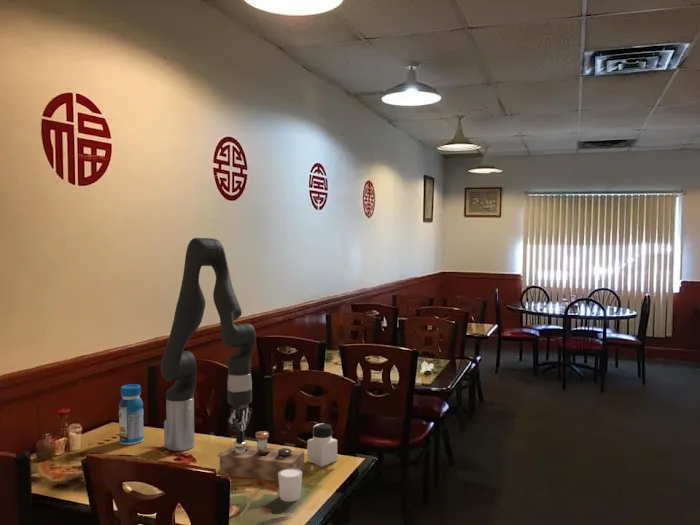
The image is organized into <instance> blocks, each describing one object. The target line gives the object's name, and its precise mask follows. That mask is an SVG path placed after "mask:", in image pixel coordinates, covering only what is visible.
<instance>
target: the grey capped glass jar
mask: <svg viewBox="0 0 700 525" xmlns="http://www.w3.org/2000/svg"><path fill="white" fill-rule="evenodd" d="M278 449H279V450H278V456H280V458H284V459H289V458H290V455H291V450H292V449H291V448H288V447H287V448H286V447H284V448H278Z"/></svg>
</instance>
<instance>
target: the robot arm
mask: <svg viewBox="0 0 700 525" xmlns="http://www.w3.org/2000/svg"><path fill="white" fill-rule="evenodd" d="M184 258H185V259H184V266H183V276H182V281H181V285H180V290H179V296H178V299H177V303H176V306H175V311H174V316H173V321H172V326H171V329H170V334H169V337H168V339H167V340H168V341H167V343H166V345H165V349H164V352H163V355H162V358H161V361H160V373H161V376H162V377H163V379H164V380H165V381H169V382H173V381H175V383H174V384H173V385H172V386H170V387H169V388H168V389H167V390H166V394H165V398H166V399H165V400H166V405H165V406H166V419H165V420H164V422H163V429H164V430H163V431H164V432H163V435H164V436H163V437H164V448H165V449H167V450H169V451H172V450H173V452H178V451H179V452H180V451H181V452H182V451H187V450H190V449H193V448H194V447H195V396H194V395H195V391H196V388H197V386H196V385H197V361H196V357H195V355H194V354H193V352H191V351H190V350H185V347H186V345H187V343H188V341H189V340H190V339H191V338H192V336H193V335H194V334H195V333H196V331H197V330H198V328H199V327H200V325H201V323H202V320H203V318H204V313H205V308H206V299H205V296H204V293H203V290H202V288H201V284H200V281H199V280H200V274H201V269H202V267H212V270H213V271H214V275H215V284H214V288H213V294H212V297H213V303H214V305H215V308H216V310H217V313H218V315H219V322H220V333H221V336H220V337H221V340H222V342H223V344H224V345H225V346H226V347H227V348H230V349H235V348H238V351H236V352H235V353H233V354H231V355H229V357H228V359H227V373H228V374H227V382H226V383H227V404H228V405H230V406H231V410H230V413H231V414H230V415H231V416H230V417H227V419H226V422H227V423H228V425H229V427H230V429H231V431H233V432H235V441H236V442H237V443H243V442H244V441H246V440H245V436H246V435H245V434H246V433H245V430H246V427H248V426H249V423H250V419H251V416H252V412H253V408H252V407H249V404H251V403H252V401H253V387H252V386H253V380H252V357H253V353H254V349H255V345H256V341H257V333H256V329H255V327H254V325H252V324H251V323H249V322H248V323H246V322H245V323H239V324H235V322H234V321H237V320H238V319H239V318H240V317H241V316H242V312H243V311H242V308H241V306H240V304H239V301H238V298H237V296H236V293H235V291H234V288H233V285H232V279H231V275H230V270H229V265H228V261H227V254H226V252H225V248H224V246H223V243H222V242H221V241H220V240H219V239H217V238H209V237H207V238H205V237H194V238H192V239H191V240H190V241H189V242H188V245H187V246H186V253H185V257H184Z"/></svg>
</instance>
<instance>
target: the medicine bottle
mask: <svg viewBox="0 0 700 525" xmlns="http://www.w3.org/2000/svg"><path fill="white" fill-rule="evenodd" d="M332 427H333V426H332V425H330V424H329V423H317V424H315V425H314V426H313V427H312V435H313V436H312V438H309V439H308V440H307V446H306V447H307V449H306V450H307V453H306V454H307V462H309V463H312V464H313V463H314V465H316V466H319V467H321V466H322V468H323V467H326V466H329V465H331V464H333V463H336V462H338V439H336V438H333V436H332V435H333V434H332V433H333V431H332ZM335 461H336V462H335ZM332 462H333V463H332ZM330 463H331V464H330ZM325 465H326V466H325Z"/></svg>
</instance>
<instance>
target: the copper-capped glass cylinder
mask: <svg viewBox="0 0 700 525" xmlns="http://www.w3.org/2000/svg"><path fill="white" fill-rule="evenodd" d="M269 434H270V433H269V431H266V430H263V431H262V430H260V431H257V432H255V438H256V442H257V444H256V445H257V446H256V447H257V456H267V448H268V438H269V436H270V435H269Z"/></svg>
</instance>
